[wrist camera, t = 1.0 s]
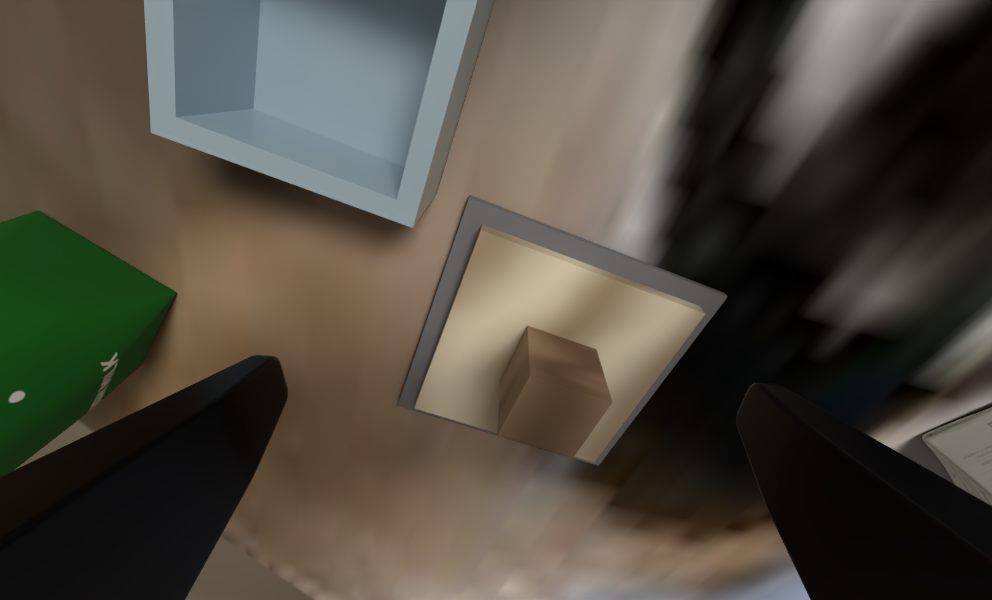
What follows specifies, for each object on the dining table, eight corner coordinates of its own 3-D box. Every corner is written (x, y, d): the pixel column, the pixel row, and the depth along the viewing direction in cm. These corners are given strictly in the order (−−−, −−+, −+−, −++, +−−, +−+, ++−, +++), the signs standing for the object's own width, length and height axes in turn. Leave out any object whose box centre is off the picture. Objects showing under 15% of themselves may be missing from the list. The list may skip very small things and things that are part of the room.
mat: (724, 292, 21) (727, 296, 20) (597, 460, 27) (598, 465, 27) (469, 195, 19) (469, 197, 18) (399, 400, 25) (397, 405, 25)
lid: (699, 305, 21) (746, 363, 16) (592, 452, 26) (606, 522, 22) (481, 224, 19) (472, 265, 15) (417, 399, 25) (397, 464, 20)
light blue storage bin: (505, -37, 15) (501, -86, 10) (436, 193, 19) (412, 227, 14) (256, -155, 13) (129, -270, 9) (241, 119, 18) (151, 132, 13)
